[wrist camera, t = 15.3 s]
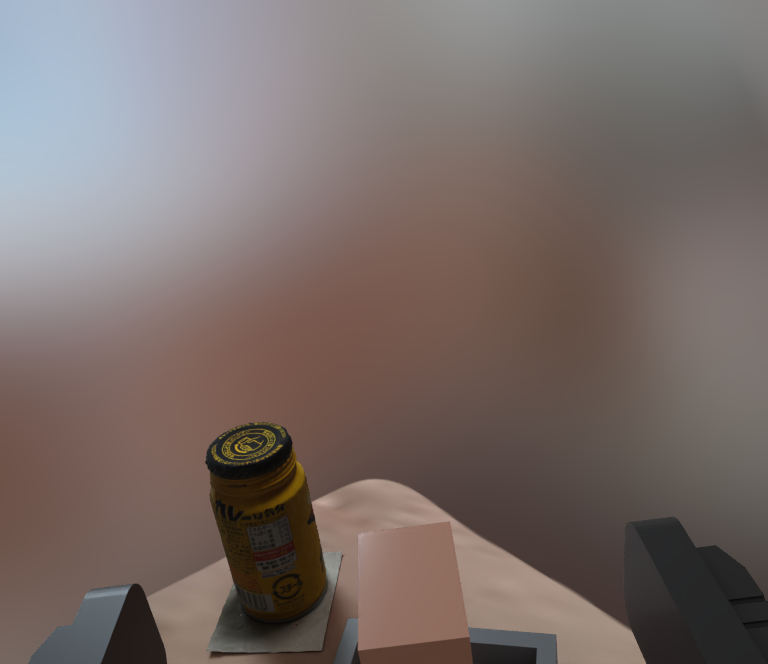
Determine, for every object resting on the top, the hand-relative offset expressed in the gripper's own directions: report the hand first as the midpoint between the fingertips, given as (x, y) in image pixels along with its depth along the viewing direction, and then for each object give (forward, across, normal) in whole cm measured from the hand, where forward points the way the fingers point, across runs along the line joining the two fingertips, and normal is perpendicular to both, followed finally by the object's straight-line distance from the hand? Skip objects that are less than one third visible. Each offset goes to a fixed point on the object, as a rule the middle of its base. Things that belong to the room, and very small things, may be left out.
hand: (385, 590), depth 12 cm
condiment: (+27, +9, +27) cm, 39 cm away
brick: (+15, 0, +26) cm, 30 cm away
